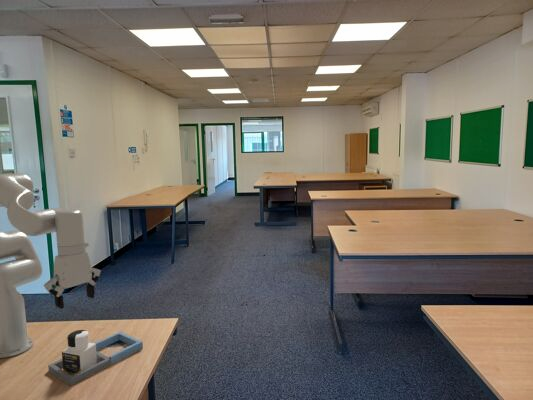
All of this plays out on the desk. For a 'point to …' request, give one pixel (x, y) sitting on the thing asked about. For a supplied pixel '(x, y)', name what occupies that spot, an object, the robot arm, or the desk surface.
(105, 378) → the desk surface
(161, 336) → the desk surface
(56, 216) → the robot arm
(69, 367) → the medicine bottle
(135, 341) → the frame
